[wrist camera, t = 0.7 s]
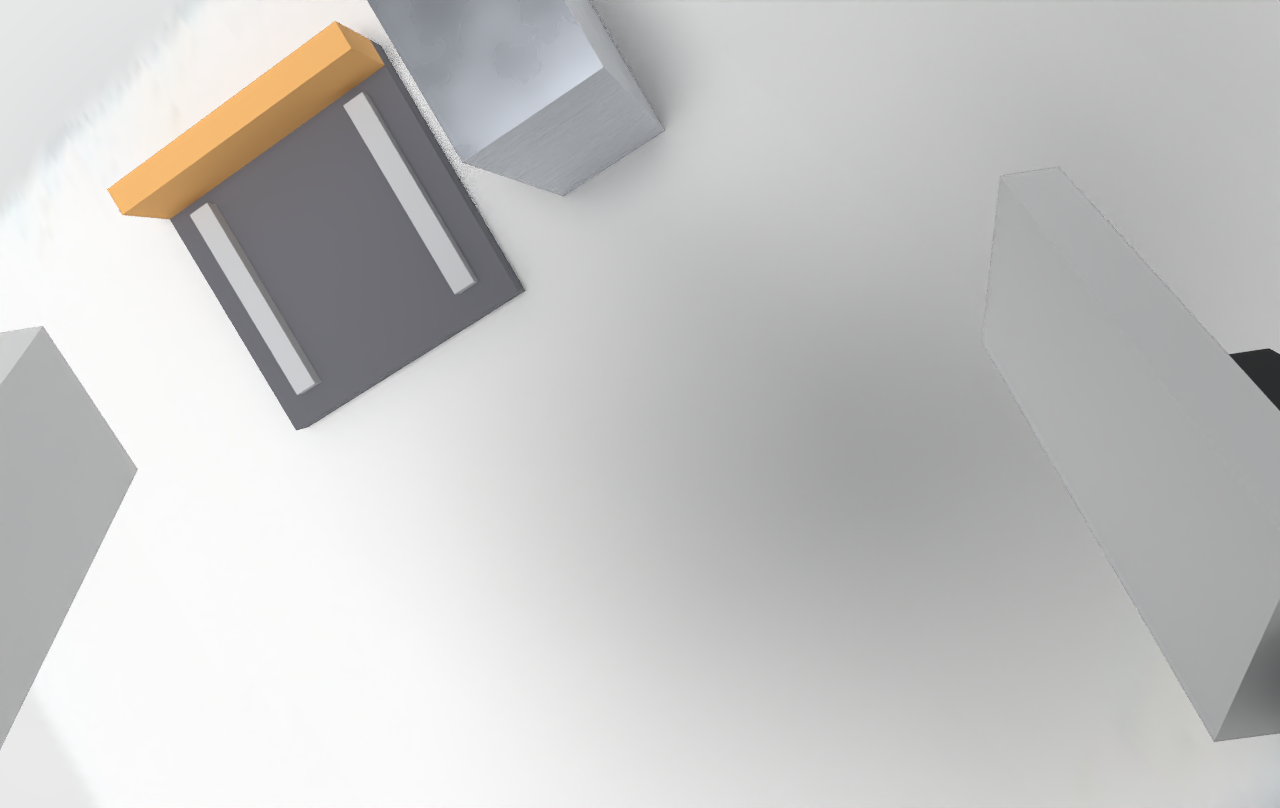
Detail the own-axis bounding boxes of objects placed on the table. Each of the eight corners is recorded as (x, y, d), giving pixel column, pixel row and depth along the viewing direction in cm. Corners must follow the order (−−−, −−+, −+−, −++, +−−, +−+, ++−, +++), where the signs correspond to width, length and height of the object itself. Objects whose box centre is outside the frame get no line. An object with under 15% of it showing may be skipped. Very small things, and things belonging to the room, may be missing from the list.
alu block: (574, -25, 39) (473, -156, 27) (664, 130, 39) (603, 67, 27) (474, 45, 40) (336, -52, 28) (563, 196, 40) (462, 162, 28)
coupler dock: (380, 45, 41) (335, 21, 37) (524, 290, 41) (494, 292, 37) (170, 197, 43) (107, 189, 39) (307, 427, 43) (258, 441, 40)
